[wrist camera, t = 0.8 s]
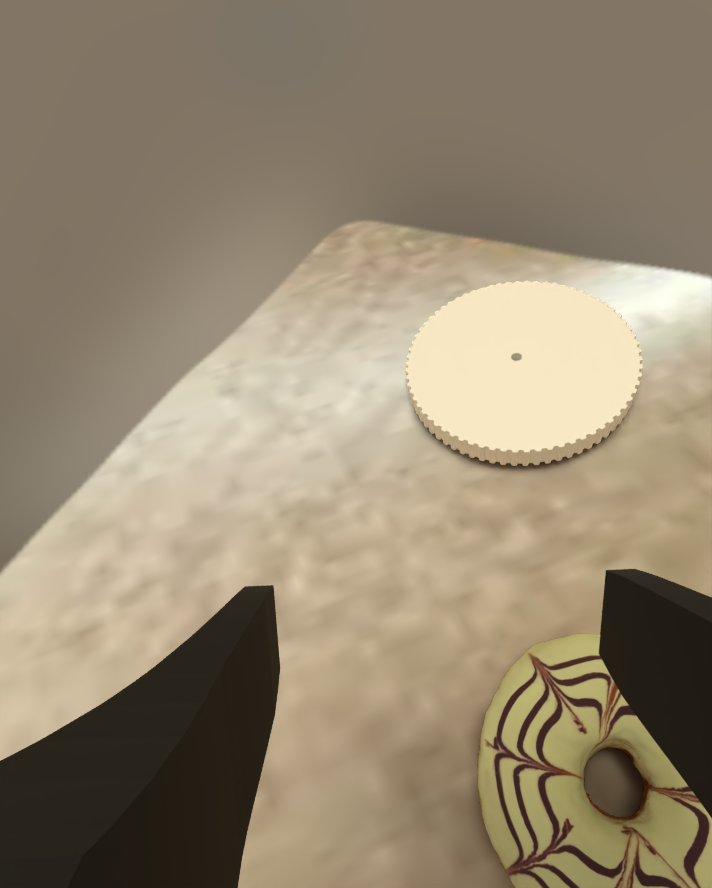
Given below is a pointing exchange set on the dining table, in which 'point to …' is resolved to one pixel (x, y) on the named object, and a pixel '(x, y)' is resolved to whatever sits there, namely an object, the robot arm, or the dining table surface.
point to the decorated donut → (581, 781)
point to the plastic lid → (523, 372)
